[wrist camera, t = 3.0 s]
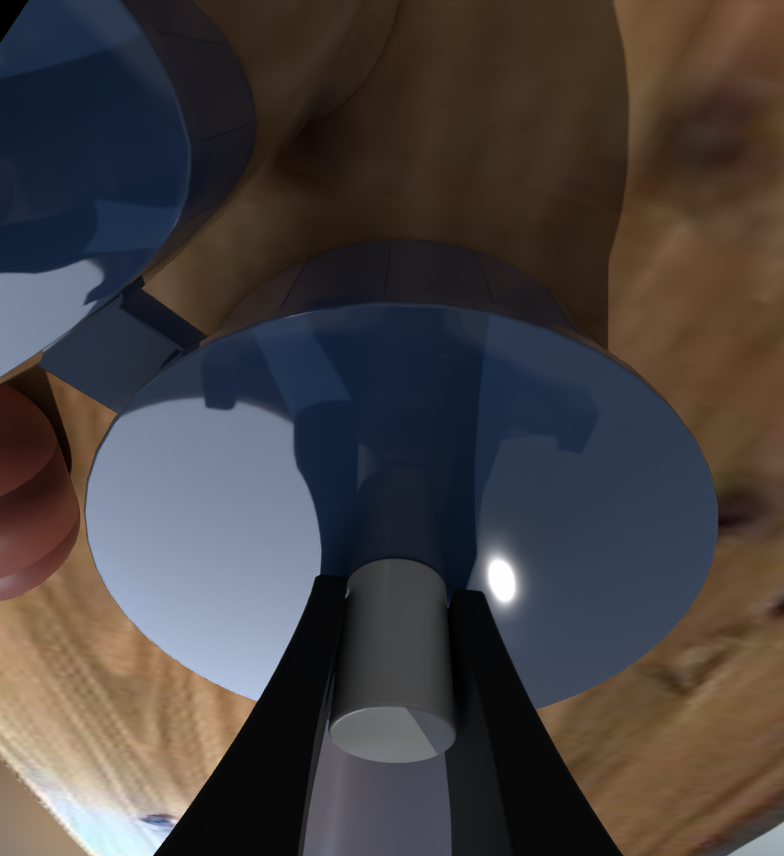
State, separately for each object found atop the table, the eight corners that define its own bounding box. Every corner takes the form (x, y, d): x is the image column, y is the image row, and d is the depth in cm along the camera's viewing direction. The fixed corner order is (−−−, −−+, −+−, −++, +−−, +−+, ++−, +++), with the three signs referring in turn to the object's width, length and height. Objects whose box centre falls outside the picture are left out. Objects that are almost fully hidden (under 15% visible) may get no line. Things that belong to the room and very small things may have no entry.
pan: (450, 636, 23) (459, 758, 19) (48, 404, 16) (-78, 517, 12) (729, 482, 17) (831, 611, 13) (285, 2, 10) (198, -54, 6)
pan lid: (407, 732, 18) (407, 886, 15) (20, 557, 13) (-123, 732, 10) (803, 550, 12) (967, 742, 9) (368, 67, 7) (323, 50, 3)
